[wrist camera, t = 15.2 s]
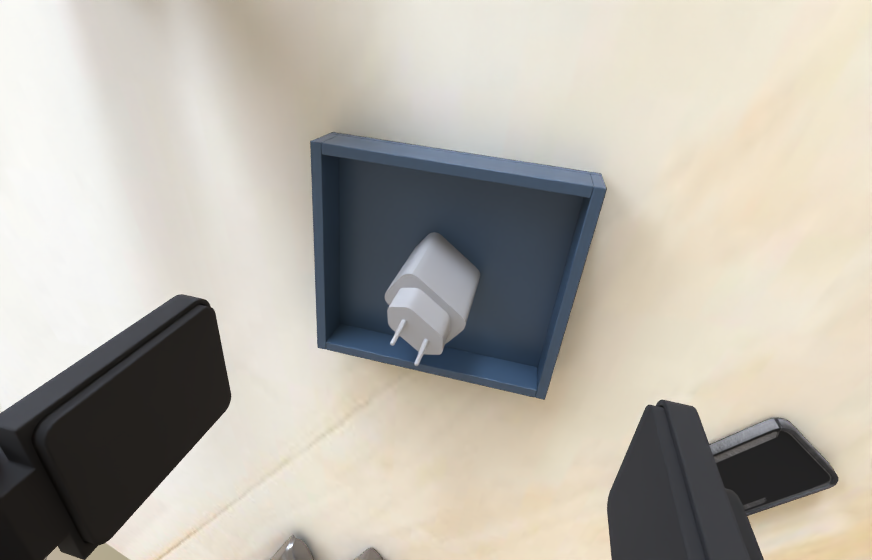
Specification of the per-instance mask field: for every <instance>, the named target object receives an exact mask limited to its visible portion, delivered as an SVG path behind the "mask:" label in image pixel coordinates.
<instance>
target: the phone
mask: <svg viewBox="0 0 872 560" xmlns="http://www.w3.org/2000/svg"><path fill="white" fill-rule="evenodd" d="M710 448H711V451H712V454H713V457H714V459H715V462H716V465H717V468H718V471H719V473H720V476H721V479H722V482H723V484H724V487H725V488H726V489H729V490H733V491H734V492H735V493H736V494H737V495H738V497H739V499H740V501H741V502H742V504H743V507H744V509H745V512H746V515H747V516H748V515H751V514H754V513H757V512H760V511H763V510H766V509H769V508H772V507H775V506H778V505H781V504H784V503H787V502H790V501H793V500H796V499H799V498H802V497H805V496H808V495H811V494H814V493H817V492H820V491H823V490H826V489H829V488H831V487H833V486H834V485H836V484H837V482H838V476H837V474H836V473H835V471H834V470H833V468H832V467H831V465H830V464H829V463H828V462H827V460H826V459H825V458H824V457H823V456H822V455H821V454H820V453H819V452H818V451H817V450H816V449H815V448H814V447H813V446H812V445H811V444H810V443H809V442H808V440H807V439H806V438H805V437H804V436H803V435H802V434H801V433H800V432H799V431H798V430H797V429H796V428H795V427H794V426H793V425H792V424H791V423H790V422H789V421H788V420H785V419H782V418H772V419H769V420H766V421H763V422H761V423H759V424H757V425H754V426H752V427H750V428H747V429H745V430H743V431H740V432H738V433H736V434H733V435H731V436H729V437H726V438H724V439H722V440H720V441H717V442H715V443H713V444H710Z"/></svg>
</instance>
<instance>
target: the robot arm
mask: <svg viewBox="0 0 872 560" xmlns="http://www.w3.org/2000/svg"><path fill="white" fill-rule="evenodd" d="M230 401H231V391H230V386H229V381H228V376H227V371H226V366H225V361H224V356H223V350H222V345H221V340H220V335H219V330H218V325H217V320H216V314H215V311H214V309H213V308H211V307H210V304H209V303H208V301H207V300H204V299H201V298H196V297H192V296H187V295H177V296H175V297H173V298H172V299H170V300H169V301H167V302H166V303H164V304H163V305H161V306H160V307H158V308H157V309H155V310H154V311H152V312H151V313H149V314H148V315H146V316H145V317H143V318H142V319H140V320H139V321H137V322H136V323H134V324H133V325H131V326H130V327H128V328H127V329H125V330H124V331H122V332H121V333H119V334H118V335H116V336H115V337H113V338H112V339H110V340H109V341H107V342H106V343H105V344H103V345H102V346H100V347H99V348H97V349H96V350H94V351H93V352H91V353H90V354H88V355H87V356H85V357H84V358H82V359H81V360H79V361H78V362H76V363H75V364H73V365H72V366H70V367H69V368H67V369H66V370H64V371H63V372H61V373H60V374H58V375H57V376H55V377H54V378H52V379H51V380H49V381H48V382H46V383H45V384H43V385H42V386H40V387H39V388H38V389H36V390H35V391H33V392H32V393H30V394H29V395H27V396H26V397H24V398H23V399H21V400H20V401H18V402H17V403H15V404H14V405H12V406H11V407H9V408H8V409H6V410H5V411H3V412H2V413H0V560H46V559H47V556H48V555H49V554H50V553H51V552H52V551H53V550H54V549H55V548H56V547H57V546H58V547H59V549H60V551H61V552H63V553H66V554H69V555H72V556H75V557H77V558H80V559H83V560H85V559H86V558H87V557H88V556H89V555H90V554H91V553H92V552H93V551H94V549H95V548H96V547H97V546H98V545H101V544H104V543H106V542H107V541H109V540H110V539H111V538H112V537H113V536H114V535H115V534H116V532H117V531H118V530H119V529H120V528H121V527H122V526H123V525H124V524H125V522H126V521H127V520H128V519H129V518H130V517H131V516H132V515H133V513H134V512H135V511H136V510H137V509H138V508H139V507H140V506H141V505H142V503H143V502H144V501H145V500H146V499H147V498H148V497H149V496H150V495H151V493H152V492H153V491H154V490H155V489H156V488H157V487H158V486H159V485H160V483H161V482H162V481H163V480H164V479H165V478H166V477H167V476H168V475H169V473H170V472H171V471H172V470H173V469H174V468H175V467H176V466H177V465H178V463H179V462H180V461H181V460H182V459H183V458H184V457H185V456H186V454H187V453H188V452H189V451H190V450H191V449H192V448H193V447H194V446H195V444H196V443H197V442H198V441H199V440H200V439H201V438H202V437H203V436H204V434H205V433H206V432H207V431H208V430H209V429H210V428H211V427H212V426H213V424H214V423H215V422H216V421H217V420H218V419H219V418H220V417H221V416H222V414H223V413H224V412H225V411H226V410H227V408H228V406H229V404H230ZM607 514H608V524H609V535H610V546H611V556H612V560H764V559H763V556H762V554H761V551H760V548H759V546H758V543H757V541H756V538H755V535H754V533H753V530H752V528H751V525H750V522H749V520H748V517H747V515H746V512H745V509H744V507H743V504H742V502H741V501H740V499H739V497H738V495H737V494H736V493H735V492H734V491H733V490H729V489H726V488H725V487H724V484H723V482H722V479H721V476H720V473H719V471H718V468H717V465H716V462H715V459H714V457H713V454H712V451H711V448H710V445H709V443H708V440H707V437H706V434H705V432H704V429H703V426H702V423H701V420H700V418H699V415H698V412H697V410H696V408H694V407H693V406H689V405H684V404H680V403H675V402H671V401H666V400H660V401H659V402H658V403H657V404H656V406H653V405H648V406H646V408H645V410H644V412H643V415H642V417H641V420H640V422H639V424H638V427H637V429H636V431H635V434H634V436H633V438H632V441H631V443H630V446H629V448H628V450H627V453H626V455H625V457H624V460H623V462H622V464H621V467H620V469H619V472H618V474H617V476H616V479H615V481H614V483H613V486H612V488H611V490H610V493H609V497H608V504H607Z"/></svg>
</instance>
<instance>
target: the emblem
mask: <svg viewBox="0 0 872 560" xmlns="http://www.w3.org/2000/svg"><path fill="white" fill-rule="evenodd" d="M270 560H314V559H313V557H312V554H311V552H310V550H309V549H308V547H307V546H306V544H305V543H304V542H303V541H302V540H301V539H296V538H295V537H294V535H292V536H291V537H290V538H289V539H288V540H287V541H286V542H285V544H284V545H283V546H282V547H281V548H280V549H279V550H278V552H277V553H276V554H275V555H274V556H273V557H272V558H271V559H270ZM354 560H383V559H382V557H381V556H380V555H379V554H378V553H377V551H376V550H375V549H373V548H369V549H367V550H366V551H365V552H363V553H362V554H361V555H360V556H358V557H357V558H356V559H354Z"/></svg>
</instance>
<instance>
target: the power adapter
mask: <svg viewBox="0 0 872 560" xmlns="http://www.w3.org/2000/svg"><path fill="white" fill-rule="evenodd" d="M479 279H480V272H479V270H478V269H477V268H476V267H475V266H474V265H473V264H472V263H471V262H470V261H469V260H468V259H467V258H465V257H464V256H463V255H462V254H461V253H460V252H459V251H458V250H457V249H456V248H455V247H454V246H453V245H451V244H450V243H449V242H448V241H447V240H446V239H445V238H444V237H443V236H442V235H440V234H439V233H435V232H433V233H430V234H428V235H427V236H426V237H425V238H424V239H423V240H422V241H421V242H420V243H419V244H418V245H417V246H416V247H415V249H414V250H413V252H412V253H411V255H410V256H409V258H408V259H407V261H406V262H405V264H404V265H403V267H402V268H401V270H400V271H399V273H398V274H397V276H396V277H395V279H394V280H393V282H392V283H391V285H390V287H389V288H388V290H387V291H386V293H385V300H386V302H387V303H388V305H389V308H388V310H387V314H388V324H389V326H390V327H391V328H392V330H394V331H395V335H394V337H393V338H392V340H391V342H390V345H392V346H394V345H395V343H396V341H397V339H398V337H399V336H401V337H402V338H403V339H404V340H405V341H406V342H408V343H409V344H410V345H411V346H412V347H413V348H414V349H416V350H417V351H418V356H417V358H416V361H415V363H414V365H415V366H418V365H419V363H420V360H421V358H422V356H423V354H428V355H440V354H442V351H443V349H444V346H445V344H446V343H448V342H449V341H450V340H452V339H453V338H454V337H455V336H457V335H458V334H459V333H460V332H461V331H463V330H464V328H465V325H466V322H467V319H468V315H469V312H470V309H471V305H472V302H473V299H474V295H475V292H476V289H477V286H478V282H479Z"/></svg>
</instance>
